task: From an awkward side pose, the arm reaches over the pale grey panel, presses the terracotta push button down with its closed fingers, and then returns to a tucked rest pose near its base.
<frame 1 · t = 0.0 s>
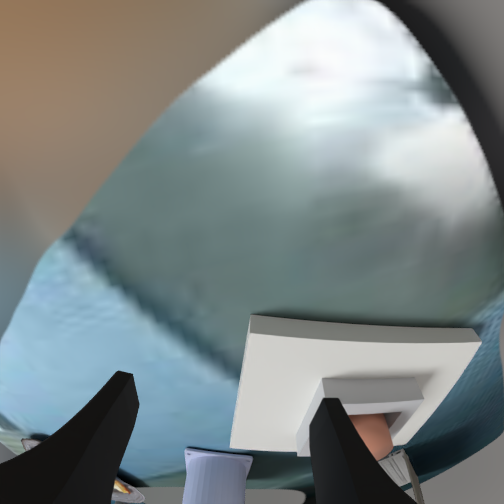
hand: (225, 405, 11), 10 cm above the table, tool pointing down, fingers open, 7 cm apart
food plate: (83, 467, 39), on the table
laptop: (375, 476, 36), on the table
button panel: (349, 393, 25), on the table
button: (360, 440, 20), point 5 cm above the table, slide at 0.0 cm
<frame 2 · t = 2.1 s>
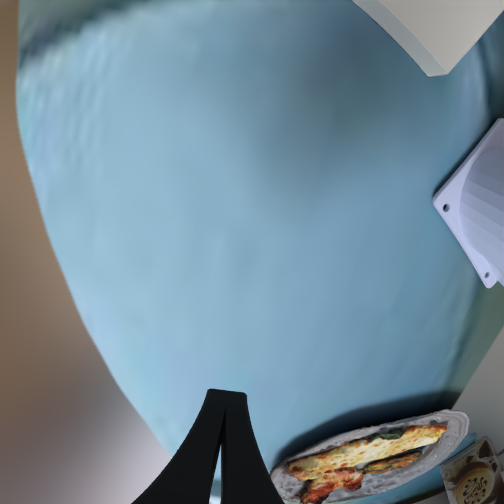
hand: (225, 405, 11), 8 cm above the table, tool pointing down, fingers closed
food plate: (368, 456, 29), on the table
coffee box: (465, 452, 32), on the table
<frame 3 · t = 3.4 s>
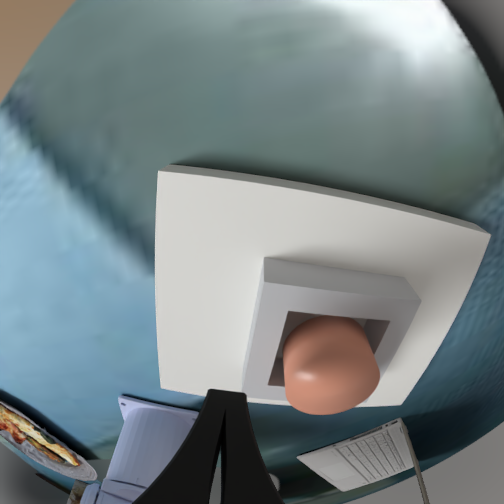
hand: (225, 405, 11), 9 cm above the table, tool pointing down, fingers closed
food plate: (34, 433, 34), on the table
laptop: (366, 458, 31), on the table
button panel: (315, 309, 20), on the table
button: (329, 367, 15), point 5 cm above the table, slide at 0.0 cm
coffee box: (97, 489, 43), on the table
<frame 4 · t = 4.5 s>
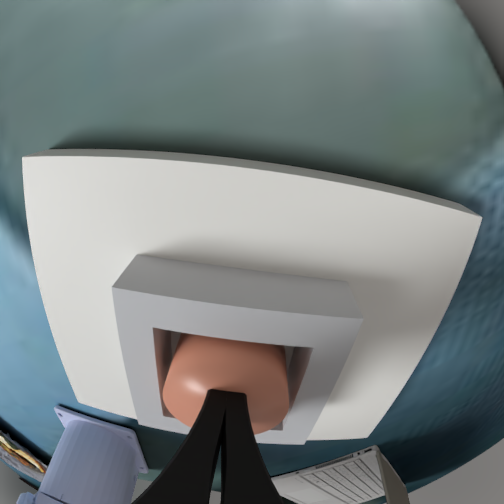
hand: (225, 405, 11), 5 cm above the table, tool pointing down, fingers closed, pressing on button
food plate: (4, 438, 30), on the table
laptop: (342, 483, 26), on the table
button panel: (234, 322, 15), on the table
button: (228, 378, 12), point 4 cm above the table, slide at 1.5 cm, touching gripper
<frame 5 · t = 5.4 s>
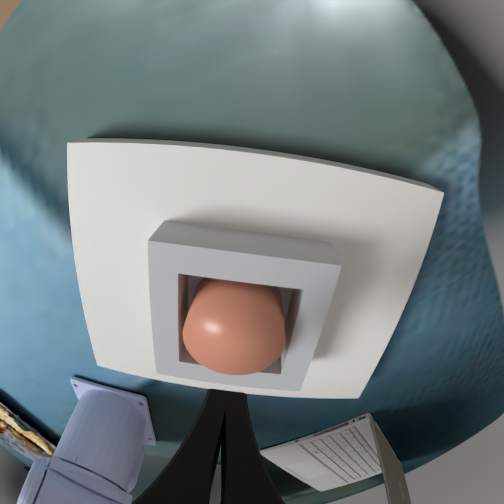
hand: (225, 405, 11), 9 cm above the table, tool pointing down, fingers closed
food plate: (13, 422, 33), on the table
laptop: (340, 457, 30), on the table
button panel: (240, 283, 19), on the table
button: (235, 321, 15), point 4 cm above the table, slide at 1.5 cm
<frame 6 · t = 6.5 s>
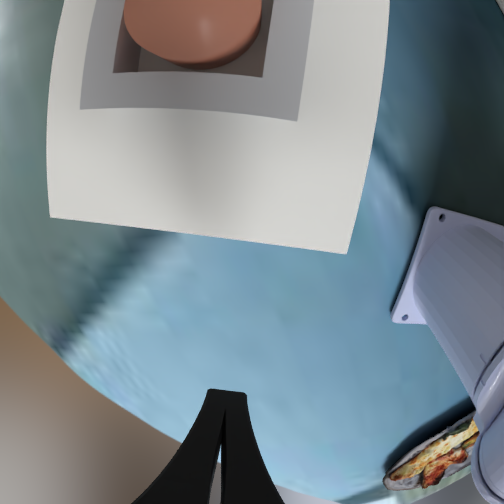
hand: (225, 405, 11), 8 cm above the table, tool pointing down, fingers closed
food plate: (460, 437, 29), on the table
button panel: (212, 32, 12), on the table
button: (197, 9, 9), point 4 cm above the table, slide at 1.5 cm
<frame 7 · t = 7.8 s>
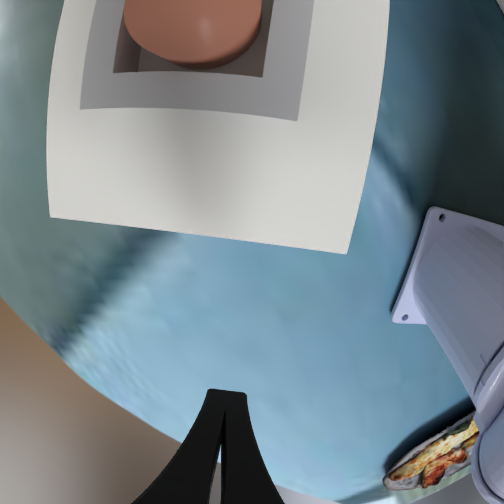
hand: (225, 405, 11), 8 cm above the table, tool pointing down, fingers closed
food plate: (460, 437, 29), on the table
button panel: (212, 32, 12), on the table
button: (197, 9, 9), point 4 cm above the table, slide at 1.5 cm
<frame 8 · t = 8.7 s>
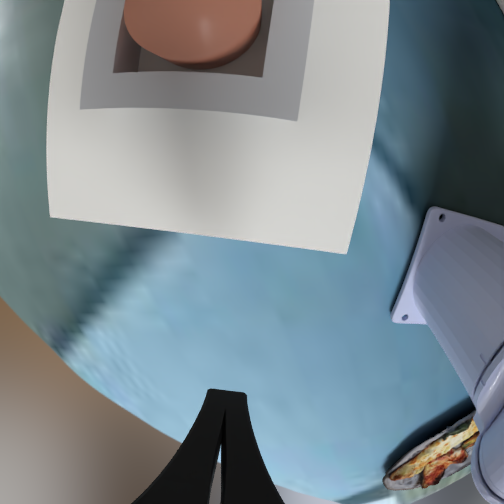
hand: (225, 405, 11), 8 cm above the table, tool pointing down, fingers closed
food plate: (460, 437, 29), on the table
button panel: (212, 32, 12), on the table
button: (197, 9, 9), point 4 cm above the table, slide at 1.5 cm
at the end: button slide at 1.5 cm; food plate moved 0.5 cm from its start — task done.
